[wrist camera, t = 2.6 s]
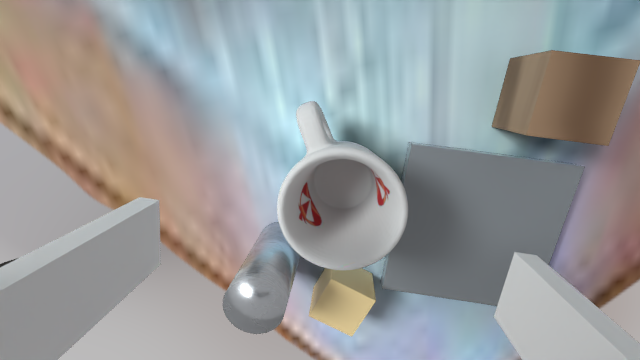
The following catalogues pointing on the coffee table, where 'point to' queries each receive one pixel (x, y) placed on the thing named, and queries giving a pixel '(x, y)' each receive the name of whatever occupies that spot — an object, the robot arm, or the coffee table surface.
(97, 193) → the coffee table surface
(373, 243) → the cup
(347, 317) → the ochre block
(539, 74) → the walnut block
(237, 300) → the grey peg
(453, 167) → the coaster
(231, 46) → the coffee table surface
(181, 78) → the coffee table surface
